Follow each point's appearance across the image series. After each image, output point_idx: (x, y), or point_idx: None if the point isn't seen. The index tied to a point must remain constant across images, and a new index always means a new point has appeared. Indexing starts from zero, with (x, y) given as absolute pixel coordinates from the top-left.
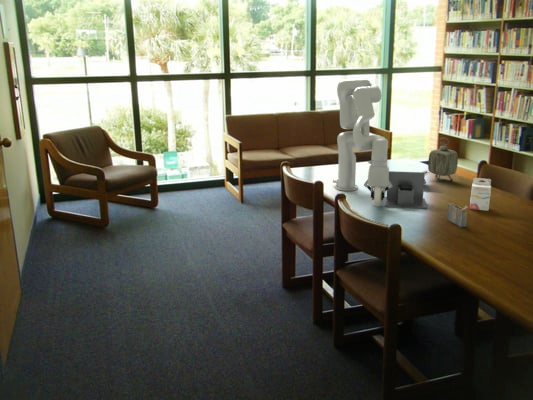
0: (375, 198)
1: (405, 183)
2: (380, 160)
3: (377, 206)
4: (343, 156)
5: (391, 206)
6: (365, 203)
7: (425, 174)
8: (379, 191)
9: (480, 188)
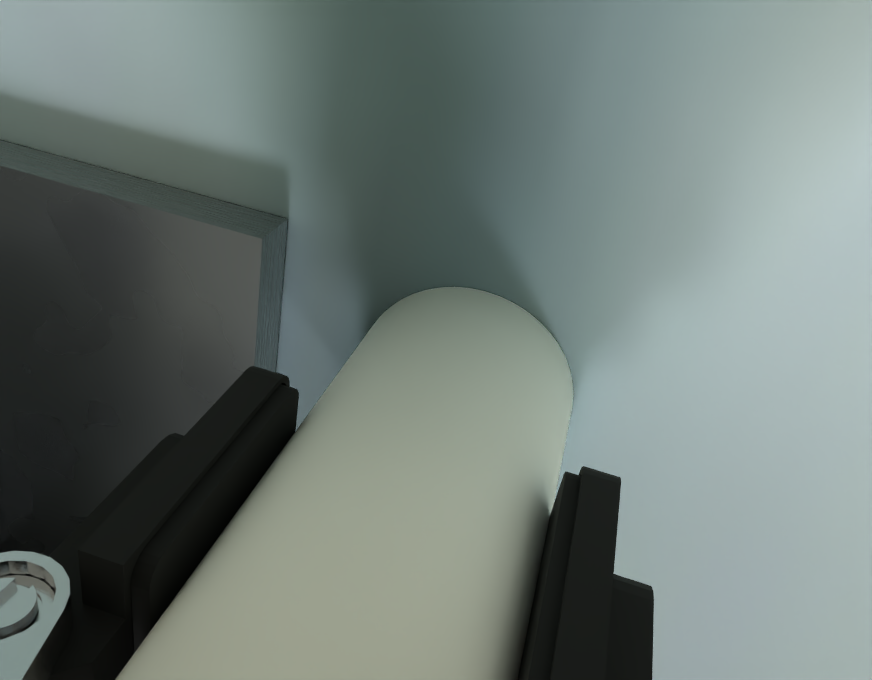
0: (492, 460)
1: None
2: None
3: (475, 290)
4: None
5: (104, 177)
6: (730, 580)
7: None
8: (218, 647)
9: None
